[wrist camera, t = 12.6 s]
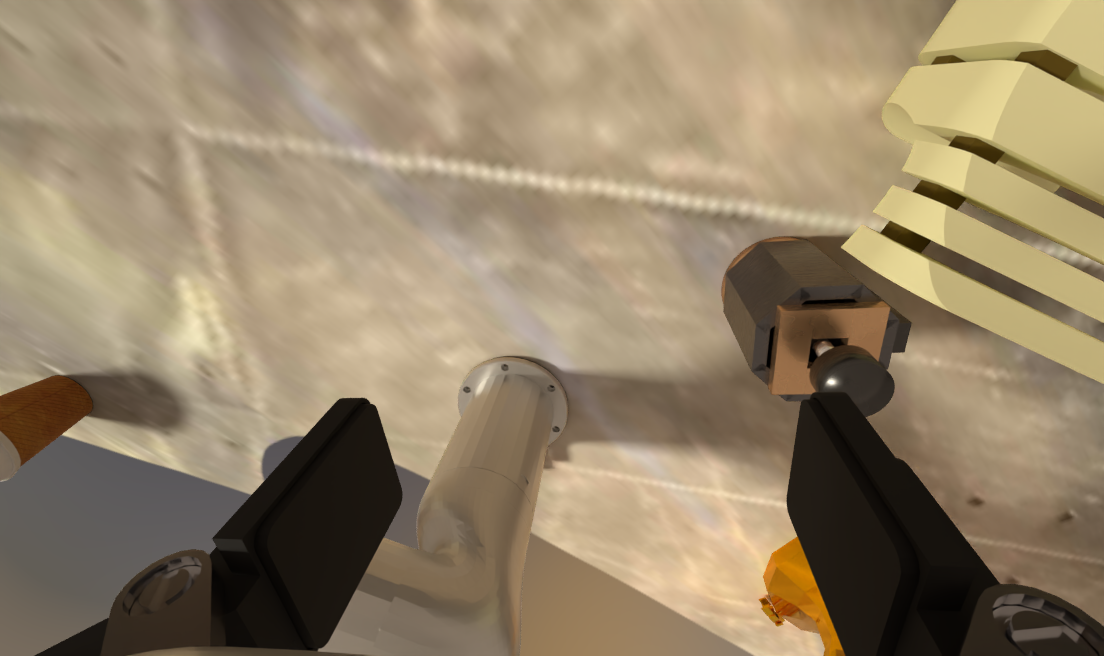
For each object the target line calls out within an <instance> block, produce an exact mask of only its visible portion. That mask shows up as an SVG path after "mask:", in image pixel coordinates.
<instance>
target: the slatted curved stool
mask: <svg viewBox="0 0 1104 656" xmlns="http://www.w3.org/2000/svg"><path fill="white" fill-rule="evenodd" d="M918 59H919V61H920V62H921V64H922V65H923V66H915V67H911V68H910V69H909V70H908V72H907V73H906V74H905V76H904V77H903V79H902V80H901V82H900V83H899V85H898V86H897V88H896V89H895V90H894V92H893V93H892V95H891V96H890V98H889V99H888V101H887V102H886V104H885V105H884V107H883V109H882V119H883V123H884V125H885V127H886V128H887V129H888V130H889V132H890V133H892V134H893V135H894V136H896V137H898V138H900V139H902V140H904V141H906V142H908V143H910V144H912V145H913V148H912V150H911V153H910V155H909V157H908V159H907V162H906V163H905V165H904V167H903V169H902V171H904V172H906V173H908V174H910V175H912V176H914V177H916V178H918V179H920V180H921V181H920V183H919V184H918V185H917V187H916V188H915V189H914V190H913V192H911V191H909V190H906V189H903V188H900V187H897V186H894V185H892V187H891V188H890V189H889V191H888V192H887V194H886V195H885V196H884V198H883V199H882V200H881V202H880V203H879V204H878V206H877V207H876V208H875V209H874V211H873V212H874V213H876V214H878V215H880V216H882V217H884V218H886V219H888V220H890V221H889V223H888V224H887V225H886V226H885V228H884V229H883V230H882V232H881V233H879V232H877V231H875V230H873V229H870V228H868V227H866V226H864V225H861V226H860V227H859V228H858V229H857V231H856V232H855V233H854V234H853V235H852V236H851V237H850V238H849V239H848V240H847V241H846V242H845V243H844V244H843V245H842V246H841V248H842V249H844V250H845V251H847V252H848V253H849V254H851V255H852V256H854V257H855V258H856V259H858V260H859V261H861V262H862V263H863V264H865V265H866V266H868V267H869V268H871V269H872V270H874V271H876V272H877V273H879V274H880V275H882V276H884V277H885V278H887V279H889V280H891V281H892V282H894V283H896V284H898V285H899V286H901V287H903V288H905V289H907V290H908V291H910V292H912V293H914V294H916V295H918V296H919V297H921V298H923V299H925V300H927V301H929V302H931V303H933V304H935V305H937V306H939V307H941V308H943V309H945V310H947V311H949V312H951V313H953V314H955V315H957V316H960V317H962V318H964V319H966V320H968V321H970V322H972V323H975V324H977V325H979V326H981V327H983V328H985V329H987V330H990V331H992V332H994V333H996V334H998V335H1000V336H1002V337H1004V338H1007V339H1009V340H1011V341H1013V342H1015V343H1017V344H1019V345H1022V346H1024V347H1026V348H1028V349H1030V350H1032V351H1034V352H1036V353H1039V354H1041V355H1043V356H1045V357H1047V358H1049V359H1051V360H1054V361H1056V362H1058V363H1060V364H1062V365H1064V366H1066V367H1068V368H1071V369H1073V370H1075V371H1077V372H1079V373H1081V374H1083V375H1086V376H1088V377H1090V378H1092V379H1094V380H1096V381H1098V382H1100V383H1103V384H1104V342H1103V341H1101V340H1098V339H1096V338H1094V337H1092V336H1090V335H1088V334H1086V333H1084V332H1082V331H1080V330H1078V329H1075V328H1073V327H1071V326H1069V325H1067V324H1065V323H1063V322H1061V321H1059V320H1057V319H1055V318H1052V317H1050V316H1048V315H1046V314H1044V313H1042V312H1040V311H1038V310H1036V309H1034V308H1032V307H1030V306H1028V305H1025V304H1023V303H1021V302H1019V301H1017V300H1015V299H1013V298H1011V297H1009V296H1007V295H1005V294H1003V293H1001V292H999V291H997V290H995V289H993V288H990V287H988V286H986V285H984V284H982V283H980V282H978V281H976V280H974V279H972V278H970V277H968V276H966V275H964V274H962V273H960V272H958V271H956V270H954V269H952V268H950V267H948V266H946V265H944V264H942V263H940V262H938V261H936V260H934V259H932V258H930V257H928V256H927V255H925V254H923V253H921V252H922V251H923V250H924V249H925V247H926V246H927V245H928V244H929V243H930V241H931V240H932V241H934V242H936V243H938V244H940V245H942V246H944V247H947V248H949V249H951V250H953V251H955V252H957V253H959V254H961V255H963V256H965V257H967V258H969V259H972V260H974V261H976V262H978V263H980V264H982V265H984V266H986V267H988V268H990V269H992V270H994V271H997V272H999V273H1001V274H1003V275H1005V276H1007V277H1009V278H1011V279H1013V280H1015V281H1017V282H1020V283H1022V284H1024V285H1026V286H1028V287H1030V288H1032V289H1034V290H1036V291H1038V292H1040V293H1042V294H1045V295H1047V296H1049V297H1051V298H1053V299H1055V300H1057V301H1059V302H1061V303H1063V304H1065V305H1068V306H1070V307H1072V308H1074V309H1076V310H1078V311H1080V312H1082V313H1084V314H1086V315H1088V316H1090V317H1093V318H1095V319H1097V320H1099V321H1101V322H1103V323H1104V282H1103V281H1101V280H1099V279H1097V278H1095V277H1093V276H1091V275H1089V274H1087V273H1085V272H1082V271H1080V270H1078V269H1076V268H1074V267H1072V266H1070V265H1068V264H1066V263H1064V262H1062V261H1060V260H1058V259H1056V258H1054V257H1052V256H1050V255H1048V254H1045V253H1043V252H1041V251H1039V250H1037V249H1035V248H1033V247H1031V246H1029V245H1027V244H1025V243H1023V242H1021V241H1019V240H1017V239H1015V238H1013V237H1011V236H1008V235H1006V234H1004V233H1002V232H1000V231H998V230H996V229H994V228H992V227H990V226H988V225H986V224H984V223H982V222H980V221H978V220H976V219H974V218H971V217H969V216H967V215H965V214H963V213H961V212H959V211H957V209H958V208H959V207H960V206H961V204H962V203H963V202H964V201H965V202H967V203H969V204H971V205H973V206H976V207H978V208H981V209H983V210H985V211H988V212H990V213H992V214H995V215H997V216H999V217H1002V218H1004V219H1006V220H1008V221H1011V222H1013V223H1015V224H1017V225H1019V226H1022V227H1024V228H1026V229H1028V230H1030V231H1033V232H1035V233H1037V234H1039V235H1041V236H1043V237H1046V238H1048V239H1050V240H1052V241H1054V242H1056V243H1058V244H1060V245H1063V246H1065V247H1067V248H1069V249H1071V250H1073V251H1075V252H1077V253H1079V254H1082V255H1084V256H1086V257H1088V258H1090V259H1092V260H1094V261H1096V262H1098V263H1100V264H1102V265H1104V218H1102V217H1100V216H1098V215H1096V214H1094V213H1092V212H1090V211H1088V210H1086V209H1084V208H1082V207H1080V206H1078V205H1076V204H1074V203H1071V202H1069V201H1067V200H1065V199H1063V198H1061V197H1059V196H1057V195H1055V194H1053V193H1055V192H1056V191H1057V189H1058V188H1059V187H1060V186H1062V187H1064V188H1066V189H1069V190H1071V191H1073V192H1075V193H1077V194H1080V195H1082V196H1084V197H1086V198H1088V199H1090V200H1093V201H1095V202H1097V203H1099V204H1101V205H1103V206H1104V0H956V2H955V3H954V5H953V6H952V8H951V9H950V11H949V12H948V13H947V15H946V16H945V18H944V19H943V21H942V22H941V24H940V25H939V27H938V28H937V29H936V31H935V32H934V34H933V35H932V37H931V38H930V40H929V41H928V43H927V44H926V45H925V47H924V48H923V50H922V51H921V53H920V54H919V56H918Z"/></svg>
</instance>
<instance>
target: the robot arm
mask: <svg viewBox="0 0 1104 656" xmlns="http://www.w3.org/2000/svg"><path fill="white" fill-rule="evenodd" d="M505 364H507V365H505ZM552 385H553V386H552ZM458 408H459V413H460V416H461V419H460V421H459V423H458V425H457V427H456V429H455V431H454V433H453V435H452V438H451V440H450V442H449V444H448V446H447V448H446V450H445V452H444V454H443V456H442V458H441V460H440V462H439V464H438V466H437V468H436V470H435V473H434V475H433V477H432V479H431V481H430V483H429V485H428V487H427V489H426V491H425V494H424V496H423V498H422V500H421V503H420V506H419V510H418V515H417V538H418V546H419V549H413V548H410V547H408V546H405V545H402V544H399V543H397V542H394V541H391V540H388V539H386V538H384V536H385V534H386V532H387V530H388V528H389V526H390V524H391V522H392V521H393V519H394V517H395V515H396V513H397V511H398V509H399V507H400V505H401V501H402V488H401V485H400V482H399V479H398V476H397V472H396V469H395V466H394V462H393V459H392V456H391V453H390V449H389V446H388V443H387V440H386V436H385V433H384V430H383V427H382V423H381V420H380V417H379V414H378V411H377V408H376V406H375V405H373V404H370V402H369V401H368V400H367V399H366V398H342V399H339V400H338V401H337V402H336V403H335V404H334V405H333V406H332V407H331V408H330V409H329V410H328V412H327V413H326V414H325V415H324V416H323V417H322V418H321V419H320V420H319V421H318V423H317V424H316V425H315V426H314V427H313V428H312V429H311V430H310V431H309V432H308V434H307V435H306V436H305V437H304V438H303V439H302V440H301V441H300V442H299V443H298V445H297V446H296V447H295V448H294V449H293V450H292V451H291V452H290V454H288V456H287V457H286V458H285V459H284V460H283V461H282V462H281V463H280V464H279V466H278V467H277V468H276V469H275V470H274V471H273V472H272V473H271V474H270V475H269V476H268V478H267V479H266V480H265V481H264V482H263V483H262V484H261V485H260V486H259V487H258V489H257V490H256V491H255V492H254V493H253V494H252V495H251V496H250V497H249V498H248V500H247V501H246V502H245V503H244V504H243V505H242V506H241V507H240V508H239V509H238V511H237V512H236V513H235V514H234V515H233V516H232V517H231V518H230V519H229V521H228V522H227V523H226V524H225V525H224V526H223V527H222V528H221V529H220V530H219V532H218V533H217V534H216V535H215V536H214V537H213V541H214V543H215V544H216V546H217V547H216V548H215V549H214V550H213V551H212V552H211V554H210V555H209V554H207V553H206V552H205V551H203V550H196V549H191V550H184V551H179V552H177V553H174V554H171V555H168V556H166V557H164V558H162V559H160V560H158V561H156V562H154V563H152V564H151V565H149V566H148V567H147V568H145V569H144V570H142V571H141V572H139V573H138V574H137V575H136V576H135V577H133V578H132V579H131V580H130V581H129V582H128V583H127V584H126V585H125V586H124V587H123V589H122V590H121V591H120V593H119V594H118V595H117V596H116V598H115V600H114V602H113V605H112V607H111V610H110V614H109V618H107V619H105V620H103V621H101V622H99V623H97V624H96V625H94V626H91V627H89V628H87V629H86V630H84V631H82V632H80V633H78V634H76V635H74V636H72V637H70V638H68V639H66V640H65V641H62V642H60V643H58V644H56V645H54V646H53V647H51V648H48V649H47V650H45V651H43V652H41V653H39V654H37V655H35V656H520V644H521V602H522V583H523V572H524V565H525V558H526V552H527V546H528V541H529V536H530V531H531V526H532V521H533V516H534V511H535V506H536V501H537V496H538V491H539V486H540V482H541V477H542V472H543V467H544V462H545V457H546V452H547V447H548V446H549V445H550V444H551V443H553V442H554V441H555V440H556V439H557V438H558V437H559V436H560V435H561V433H562V431H563V429H564V427H565V425H566V421H567V417H568V400H567V397H566V394H565V391H564V390H563V388H562V386H561V384H560V383H559V382H558V380H557V379H556V378H555V377H554V376H553V375H552V374H551V373H550V372H548V371H547V370H546V369H545V368H543V367H541V366H539V365H538V364H536V363H533V362H531V361H528V360H525V359H520V358H515V357H501V358H495V359H491V360H488V361H485V362H483V363H481V364H479V365H478V366H476V367H475V368H474V369H473V370H471V371H470V372H469V373H468V375H467V376H466V378H465V379H464V381H463V383H462V385H461V387H460V390H459V394H458ZM787 509H788V513H789V516H790V519H791V521H792V524H793V526H794V529H795V531H796V534H797V536H798V539H799V541H800V544H801V546H802V549H803V551H804V554H805V556H806V559H807V561H808V564H809V566H810V569H811V571H812V574H813V576H814V579H815V581H816V584H817V586H818V589H819V591H820V594H821V596H822V599H823V601H824V604H825V606H826V609H827V611H828V614H829V616H830V619H831V621H832V624H833V626H834V629H835V631H836V634H837V636H838V639H839V641H840V644H841V646H842V649H843V651H844V654H845V656H1104V626H1103V625H1102V624H1100V623H1099V622H1097V621H1096V620H1095V619H1093V618H1092V617H1091V616H1089V615H1088V614H1086V613H1085V612H1084V611H1082V610H1081V609H1080V608H1078V607H1076V606H1074V605H1072V604H1070V603H1068V602H1067V601H1065V600H1063V599H1061V598H1059V597H1057V596H1055V595H1052V594H1050V593H1047V592H1044V591H1042V590H1039V589H1036V588H1033V587H1028V586H1023V585H1018V584H1000V583H999V582H998V580H997V579H996V578H995V577H994V575H993V574H992V573H991V571H990V570H989V569H988V567H987V566H986V565H985V564H984V562H983V561H982V560H981V558H980V557H979V556H978V555H977V553H976V552H975V551H974V549H973V548H972V547H971V545H970V544H969V543H968V542H967V540H966V539H965V538H964V536H963V535H962V534H961V532H960V531H959V530H958V529H957V527H956V526H955V525H954V523H953V522H952V521H951V520H950V518H949V517H948V516H947V514H946V513H945V512H944V510H943V509H942V508H941V507H940V505H939V504H938V503H937V501H936V500H935V499H934V498H933V496H932V495H931V494H930V492H929V491H928V490H927V488H926V487H925V486H924V485H923V483H922V482H921V481H920V479H919V478H918V477H917V475H916V474H915V473H914V472H913V470H912V469H911V468H910V467H909V466H908V465H907V464H906V463H905V462H904V461H903V460H901V459H898V458H895V456H894V455H893V454H892V452H891V451H890V450H889V448H888V447H887V446H886V444H885V443H884V442H883V440H882V439H881V438H880V436H879V435H878V434H877V432H876V431H875V430H874V428H873V427H872V426H871V425H870V423H869V422H868V421H867V419H866V418H865V417H864V415H863V414H862V413H861V411H860V410H859V409H858V407H857V406H856V405H855V403H854V402H853V401H852V399H851V398H850V397H849V395H848V394H847V393H845V392H814V393H812V395H811V396H810V399H804V400H802V402H801V405H800V411H799V418H798V425H797V432H796V438H795V445H794V452H793V458H792V465H791V472H790V479H789V485H788V492H787Z"/></svg>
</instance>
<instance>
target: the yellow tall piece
mask: <svg viewBox="0 0 1104 656" xmlns="http://www.w3.org/2000/svg"><path fill="white" fill-rule="evenodd" d="M763 578H764V582H765V585H766V589H767V591H768V594H769V596H770V599H771V601H772V604H773V606H774V608H775V611H776V612H775V611H774V608H773V606H770V605H771V604H770V603H769V601H768V600H767V599H766V598H765V597H764V598H761V599H759V601H760V602H761V603H762V607H763V608H761V609H762V610H763V611H764V612H765V614H766V615H767V616H769V618H770V619H771V620H772V621H773V622H774V623H775V624H776V626H780V625H783V622H784V621H785V620H784V619H786V620H787V621H789V622H790V623H792V624H793V625H795V626H796V627H798V628H799V629H801V630H804V631H809V632H813V633H818V634H820V636H821V639H822V642H823V645H824V647H825V651H824V656H845V654H844V651H843V649H842V646H841V644H840V641H839V639H838V636H837V634H836V631H835V629H834V626H833V624H832V621H831V619H830V616H829V614H828V611H827V609H826V606H825V604H824V601H823V599H822V596H821V594H820V591H819V589H818V586H817V584H816V581H815V579H814V576H813V574H812V571H811V569H810V566H809V564H808V561H807V559H806V556H805V554H804V551H803V549H802V546H801V544H800V541H799V539H798V537H796V538H795V539H793V540H792V541H790V542H789V543H787V544H786V545H784V546H783V547H781V548H780V549H778V550H777V551H775V552H773V553H772V555H771V557H770V560H769V563H768V565H767V568H766V570H765V573H764V575H763ZM783 618H784V619H783Z"/></svg>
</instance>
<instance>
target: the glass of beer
mask: <svg viewBox="0 0 1104 656" xmlns="http://www.w3.org/2000/svg"><path fill="white" fill-rule="evenodd" d="M92 407H93V405H92V400H91V398H90V396H89V394H88V393H87V392H86V391H85V390H84V388H83V387H81V386H80V385H79V384H78V383H76V382H75V381H73V380H71V379H69V378H67V377H63V376H51V377H49V378H46V379H44V380H41V381H39V382H36V383H33V384H31V385H28V386H25V387H23V388H20V389H17V390H14V391H12V392H9V393H7V394H4V395H2V396H0V482H1V481H6V480H9V479H10V478H12V477H13V476H14V475H15V473H16V472H17V471H18V470H19V468H20V467H21V466H22V465H23V464H24V463H25V462H27V461H28V460H30V459H31V458H32V457H34V456H35V455H36V454H37V453H39V452H40V451H41V450H42V449H43V448H45V447H46V446H48V445H49V444H50V443H51V442H52V441H54V440H55V439H56V438H58V437H59V436H60V435H62V434H63V433H64V432H65V431H67V430H68V429H69V428H71V427H72V426H73V425H74V424H76V423H77V422H78V421H80V420H81V419H82V418H83V417H85V416H86V415H87V414H89V413H90V412H91V410H92Z"/></svg>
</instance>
